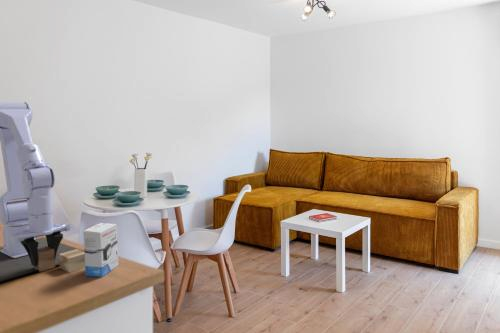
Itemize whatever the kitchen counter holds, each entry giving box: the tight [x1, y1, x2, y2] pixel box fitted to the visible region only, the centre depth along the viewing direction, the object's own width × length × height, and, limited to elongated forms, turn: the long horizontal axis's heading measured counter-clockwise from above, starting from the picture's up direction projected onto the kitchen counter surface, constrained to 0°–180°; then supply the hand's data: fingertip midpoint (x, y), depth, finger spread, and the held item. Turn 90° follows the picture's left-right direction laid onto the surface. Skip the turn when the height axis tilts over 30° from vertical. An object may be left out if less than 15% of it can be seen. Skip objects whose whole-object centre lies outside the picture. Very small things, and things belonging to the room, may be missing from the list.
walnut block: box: [31, 245, 56, 273], centre depth 107 cm, size 4×4×5 cm
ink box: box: [83, 222, 119, 278], centre depth 105 cm, size 8×5×12 cm, turn 168°
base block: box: [58, 248, 85, 273], centre depth 107 cm, size 5×5×4 cm
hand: (43, 262), depth 107 cm, fingers closed on walnut block, 4 cm apart
